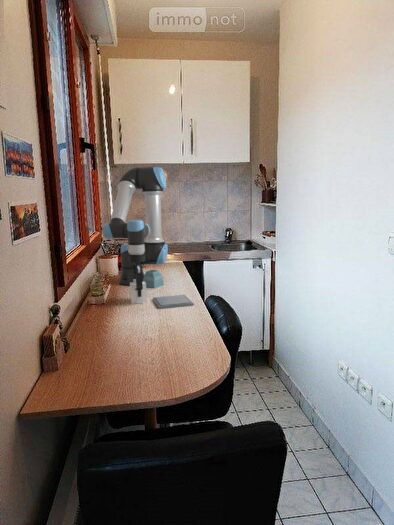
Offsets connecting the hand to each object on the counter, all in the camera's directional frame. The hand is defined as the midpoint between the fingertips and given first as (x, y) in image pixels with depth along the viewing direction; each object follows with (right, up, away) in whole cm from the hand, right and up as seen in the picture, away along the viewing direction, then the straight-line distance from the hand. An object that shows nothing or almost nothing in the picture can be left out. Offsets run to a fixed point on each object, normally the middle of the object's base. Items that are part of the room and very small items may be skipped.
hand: (138, 301), depth 180 cm
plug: (0, 0, 0) cm, 0 cm away
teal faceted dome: (+3, +14, +29) cm, 32 cm away
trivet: (+16, 0, -2) cm, 17 cm away
